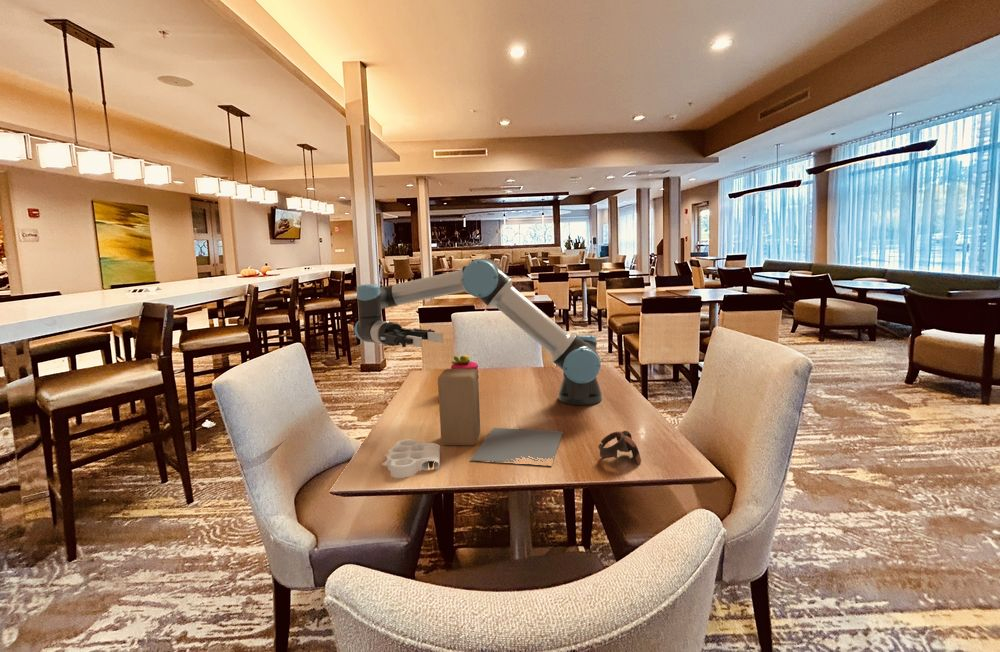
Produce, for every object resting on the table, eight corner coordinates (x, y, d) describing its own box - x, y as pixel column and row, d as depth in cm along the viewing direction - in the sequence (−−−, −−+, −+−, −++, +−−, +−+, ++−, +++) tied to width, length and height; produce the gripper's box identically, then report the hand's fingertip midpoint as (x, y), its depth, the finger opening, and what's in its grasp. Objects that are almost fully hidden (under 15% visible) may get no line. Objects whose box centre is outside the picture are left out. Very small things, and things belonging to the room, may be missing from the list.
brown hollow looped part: (641, 472, 122) (624, 445, 120) (607, 481, 127) (590, 455, 125) (648, 443, 132) (632, 417, 130) (616, 452, 137) (600, 428, 135)
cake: (453, 388, 200) (452, 351, 198) (480, 388, 200) (478, 350, 198) (450, 396, 190) (448, 357, 188) (478, 395, 189) (476, 356, 187)
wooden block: (481, 433, 150) (478, 367, 147) (476, 446, 140) (473, 376, 137) (447, 433, 151) (444, 368, 148) (440, 446, 141) (436, 376, 138)
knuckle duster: (439, 476, 123) (378, 481, 122) (440, 448, 141) (386, 452, 139) (438, 463, 123) (377, 468, 121) (439, 437, 140) (385, 440, 139)
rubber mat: (563, 432, 148) (563, 431, 148) (551, 466, 125) (551, 465, 125) (493, 429, 153) (493, 427, 153) (470, 461, 130) (470, 459, 130)
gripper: (413, 340, 172) (458, 347, 157) (361, 349, 158) (404, 358, 142) (412, 318, 171) (456, 323, 156) (359, 326, 157) (402, 332, 141)
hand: (431, 340), depth 149 cm, fingers open, 7 cm apart
